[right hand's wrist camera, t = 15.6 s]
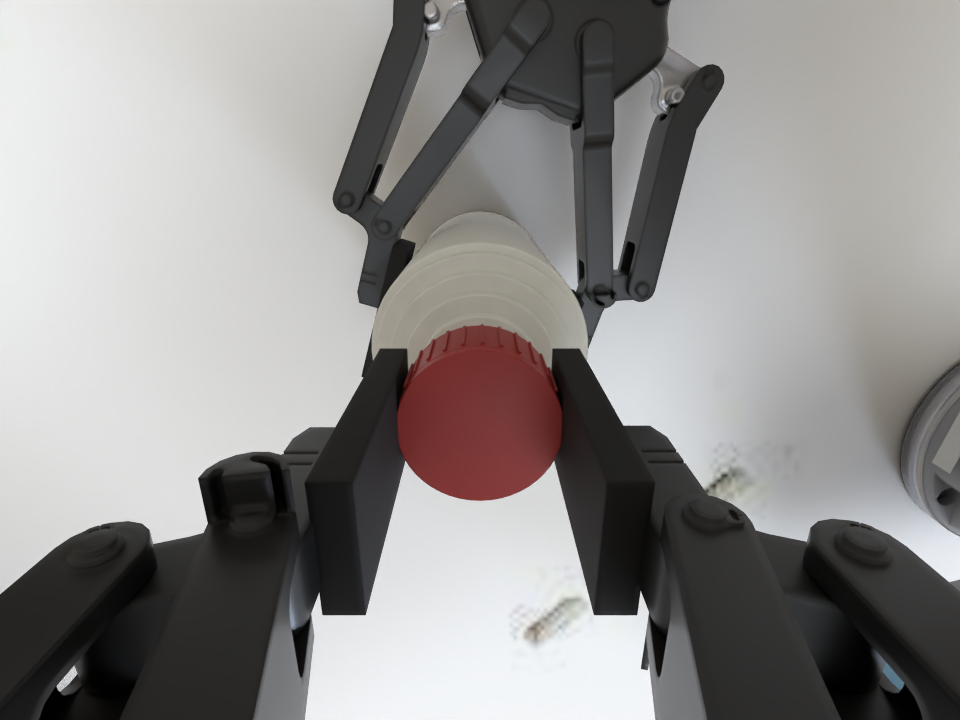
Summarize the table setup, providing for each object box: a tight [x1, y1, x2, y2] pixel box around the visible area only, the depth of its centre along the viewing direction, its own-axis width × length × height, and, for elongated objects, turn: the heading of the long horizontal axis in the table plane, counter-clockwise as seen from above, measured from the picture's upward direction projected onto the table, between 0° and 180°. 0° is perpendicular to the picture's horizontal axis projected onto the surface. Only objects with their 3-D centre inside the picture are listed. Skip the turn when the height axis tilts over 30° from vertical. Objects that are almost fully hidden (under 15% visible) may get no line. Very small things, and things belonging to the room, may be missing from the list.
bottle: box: [372, 211, 588, 371], centre depth 22 cm, size 8×8×19 cm
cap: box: [397, 324, 563, 501], centre depth 14 cm, size 4×4×2 cm
